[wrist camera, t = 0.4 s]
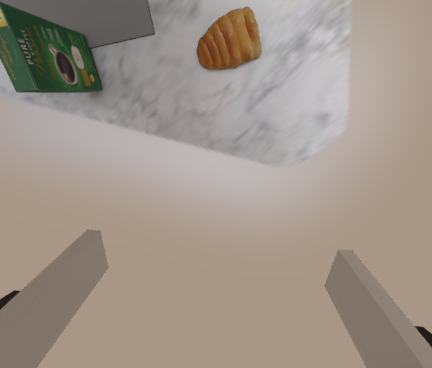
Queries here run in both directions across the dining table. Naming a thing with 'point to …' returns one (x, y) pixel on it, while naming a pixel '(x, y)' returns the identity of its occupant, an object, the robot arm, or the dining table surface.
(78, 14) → the slate mat
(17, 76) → the coffee box
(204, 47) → the pastry
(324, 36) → the dining table surface
